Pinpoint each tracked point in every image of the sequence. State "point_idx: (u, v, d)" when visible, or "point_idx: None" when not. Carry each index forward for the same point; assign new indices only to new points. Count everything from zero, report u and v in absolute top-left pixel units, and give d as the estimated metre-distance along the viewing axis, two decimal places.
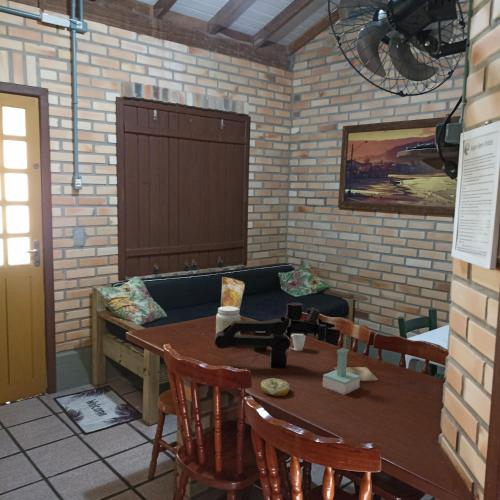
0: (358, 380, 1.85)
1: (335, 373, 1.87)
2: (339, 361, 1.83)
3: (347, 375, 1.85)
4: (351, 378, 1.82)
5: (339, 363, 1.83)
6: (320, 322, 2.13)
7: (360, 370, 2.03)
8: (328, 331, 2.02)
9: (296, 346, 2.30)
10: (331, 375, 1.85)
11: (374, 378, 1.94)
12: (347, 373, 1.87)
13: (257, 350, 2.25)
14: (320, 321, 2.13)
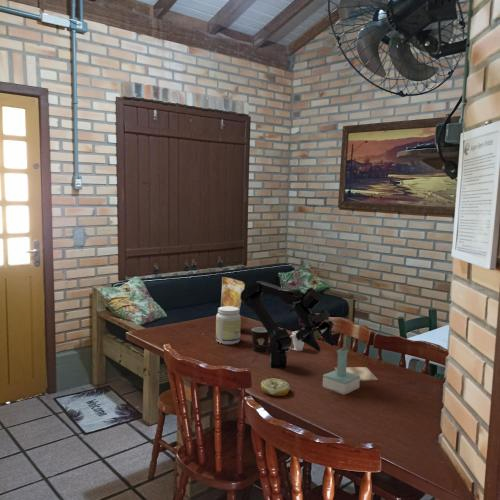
0: (358, 380, 1.85)
1: (335, 373, 1.87)
2: (339, 361, 1.83)
3: (347, 375, 1.85)
4: (351, 378, 1.82)
5: (339, 363, 1.83)
6: (327, 330, 1.95)
7: (360, 370, 2.03)
8: (310, 339, 1.88)
9: (296, 346, 2.30)
10: (331, 375, 1.85)
11: (374, 378, 1.94)
12: (347, 373, 1.87)
13: (257, 350, 2.25)
14: (327, 330, 1.95)
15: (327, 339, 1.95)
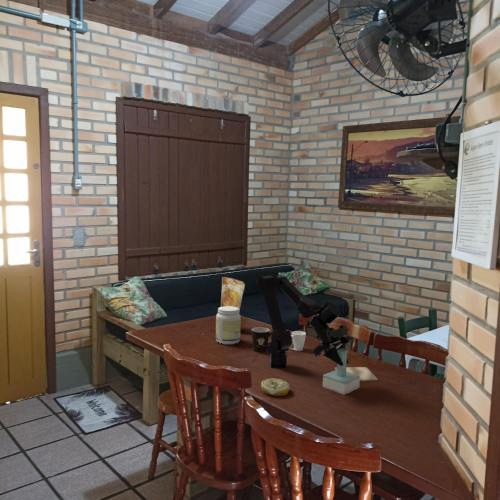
0: (358, 380, 1.85)
1: (335, 373, 1.87)
2: None
3: (347, 375, 1.85)
4: (351, 378, 1.82)
5: None
6: (341, 347, 1.87)
7: (360, 370, 2.03)
8: (333, 354, 1.83)
9: (296, 346, 2.30)
10: (331, 375, 1.85)
11: (374, 378, 1.94)
12: (347, 373, 1.87)
13: (257, 350, 2.25)
14: (341, 346, 1.87)
15: None
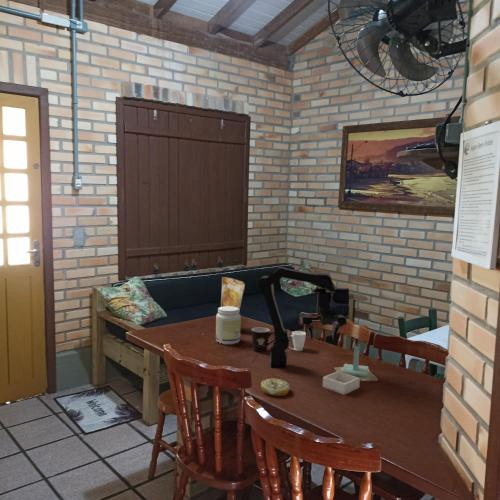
0: (358, 380, 1.85)
1: (348, 368, 2.00)
2: (355, 356, 1.98)
3: (359, 367, 2.01)
4: (366, 369, 1.99)
5: (355, 358, 1.98)
6: (335, 325, 2.02)
7: None
8: None
9: (296, 346, 2.30)
10: (348, 370, 1.98)
11: (374, 378, 1.94)
12: None
13: (257, 350, 2.25)
14: (335, 325, 2.02)
15: (333, 331, 2.05)
